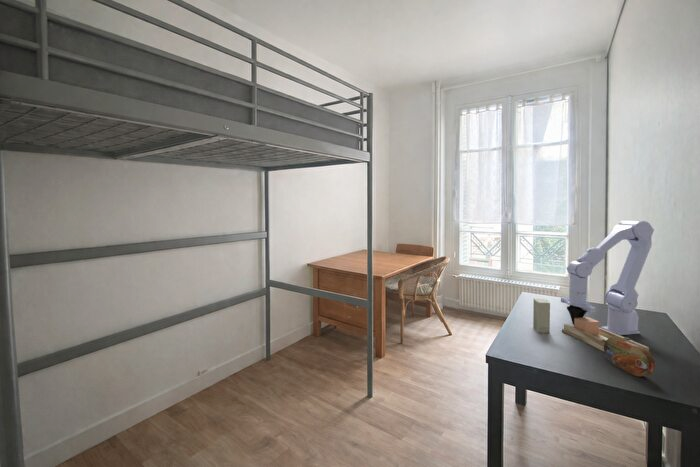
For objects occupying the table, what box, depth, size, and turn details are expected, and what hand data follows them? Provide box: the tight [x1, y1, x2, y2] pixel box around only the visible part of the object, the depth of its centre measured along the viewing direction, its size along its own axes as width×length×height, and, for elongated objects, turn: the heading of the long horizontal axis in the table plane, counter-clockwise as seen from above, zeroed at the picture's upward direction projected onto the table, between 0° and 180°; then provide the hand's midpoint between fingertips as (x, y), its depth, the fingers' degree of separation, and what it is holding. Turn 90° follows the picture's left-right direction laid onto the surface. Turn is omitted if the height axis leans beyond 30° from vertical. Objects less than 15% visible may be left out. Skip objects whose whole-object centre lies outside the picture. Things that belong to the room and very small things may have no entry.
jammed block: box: [573, 316, 600, 335], centre depth 129 cm, size 6×5×5 cm
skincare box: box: [532, 298, 551, 334], centre depth 135 cm, size 6×4×12 cm
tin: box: [603, 338, 656, 378], centre depth 103 cm, size 15×3×8 cm, turn 5°
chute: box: [561, 323, 652, 355], centre depth 122 cm, size 12×24×3 cm, turn 10°
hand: (576, 324), depth 134 cm, fingers closed
